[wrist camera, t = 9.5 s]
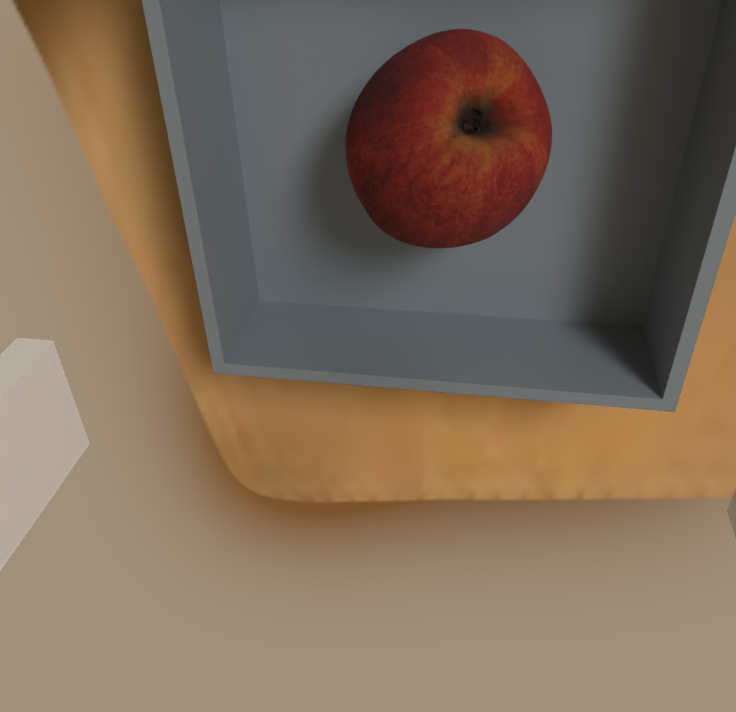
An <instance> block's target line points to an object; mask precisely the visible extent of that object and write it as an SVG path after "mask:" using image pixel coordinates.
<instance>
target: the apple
mask: <svg viewBox="0 0 736 712" xmlns="http://www.w3.org/2000/svg"><path fill="white" fill-rule="evenodd" d="M345 145H346V162H347V168H348V173H349V177H350V180H351V184H352V186H353V189H354V191H355V193H356V195H357V197H358V199H359V201H360V202H361V204H362V205H363V207H364V209H365V210H366V212H367V214H368V215H369V216H370V218H371V219H372V221H373V222H374V223H375V224H376V225H377V226H378V227H379V228H380V229H381V230H382V231H383V232H385V233H386V234H387V235H389V236H391V237H393V238H395V239H397V240H399V241H401V242H404V243H407V244H410V245H414V246H418V247H425V248H454V247H460V246H465V245H469V244H473V243H476V242H480V241H482V240H485V239H487V238H489V237H491V236H493V235H494V234H496V233H498V232H499V231H501V230H502V229H503V228H505V227H506V226H507V225H509V224H510V223H511V222H512V221H513V220H514V219H515V218H516V217H517V216H518V215H519V214H520V213H521V212H522V211H523V210H524V208H525V207H526V206H527V205H528V203H529V202H530V200H531V199H532V197H533V196H534V194H535V192H536V191H537V189H538V187H539V185H540V183H541V181H542V179H543V176H544V174H545V171H546V168H547V165H548V161H549V158H550V153H551V146H552V124H551V118H550V113H549V109H548V106H547V103H546V100H545V97H544V95H543V93H542V90H541V88H540V85H539V84H538V82H537V80H536V78H535V76H534V75H533V73H532V72H531V70H530V68H529V67H528V65H527V64H526V63H525V61H524V60H523V59H522V58H521V57H520V55H519V54H518V53H517V52H516V51H515V50H514V49H513V48H512V47H511V46H510V45H509V44H507V43H506V42H505V41H503V40H501V39H499V38H498V37H495V36H493V35H491V34H488V33H485V32H482V31H477V30H471V29H450V30H445V31H440V32H436V33H433V34H431V35H428V36H426V37H423V38H421V39H419V40H417V41H415V42H413V43H412V44H410V45H408V46H407V47H405V48H404V49H402V50H400V51H399V52H398V53H396V54H395V55H393V56H392V57H391V58H390V59H389V60H387V61H386V62H385V63H384V64H383V65H382V66H381V67H380V68H379V69H378V70H377V71H376V72H375V73H374V74H373V76H372V77H371V78H370V80H369V81H368V82H367V84H366V85H365V87H364V88H363V90H362V91H361V93H360V95H359V97H358V98H357V100H356V102H355V105H354V107H353V110H352V112H351V115H350V118H349V122H348V126H347V131H346V142H345Z"/></svg>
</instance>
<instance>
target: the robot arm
mask: <svg viewBox="0 0 736 712" xmlns="http://www.w3.org/2000/svg"><path fill="white" fill-rule="evenodd" d="M89 444H90V443H89V441H88V438H87V435H86V432H85V429H84V426H83V424H82V421H81V418H80V415H79V413H78V410H77V407H76V404H75V401H74V398H73V396H72V393H71V390H70V387H69V384H68V382H67V379H66V376H65V373H64V371H63V368H62V365H61V362H60V359H59V356H58V354H57V351H56V348H55V345H54V342H53V341H51V340H39V339H26V338H16V339H15V340H14V341H13V343H12V344H10V345H9V346H8V347H7V348H6V350H5V351H3V352H2V353H1V354H0V570H1V569H2V567H3V566H4V565H5V563H6V562H7V560H8V559H9V558H10V556H11V555H12V553H13V552H14V551H15V549H16V548H17V546H18V545H19V543H20V542H21V540H22V539H23V538H24V536H25V535H26V533H27V532H28V531H29V529H30V528H31V526H32V525H33V524H34V522H35V521H36V519H37V518H38V517H39V515H40V514H41V512H42V511H43V510H44V508H45V507H46V505H47V504H48V502H49V501H50V500H51V498H52V497H53V495H54V494H55V493H56V491H57V490H58V488H59V487H60V485H61V484H62V482H63V481H64V480H65V478H66V477H67V476H68V474H69V473H70V471H71V470H72V468H73V467H74V466H75V464H76V463H77V461H78V460H79V459H80V457H81V455H82V454H83V453H84V451H85V450H86V449H87V447H88V446H89ZM727 512H728V515H729V518H730V521H731V524H732V527H733V530H734V533H735V536H736V490H735V492H734V495H733V497H732V500H731V502H730V505H729V507H728V509H727Z"/></svg>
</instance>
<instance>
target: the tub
mask: <svg viewBox="0 0 736 712" xmlns="http://www.w3.org/2000/svg"><path fill="white" fill-rule="evenodd" d="M142 4H143V10H144V15H145V20H146V25H147V30H148V36H149V41H150V46H151V51H152V56H153V62H154V67H155V72H156V77H157V82H158V88H159V93H160V98H161V103H162V108H163V114H164V119H165V124H166V129H167V134H168V140H169V145H170V150H171V155H172V160H173V166H174V171H175V176H176V181H177V186H178V192H179V197H180V202H181V207H182V212H183V218H184V223H185V228H186V233H187V238H188V244H189V249H190V254H191V259H192V264H193V270H194V275H195V280H196V285H197V290H198V296H199V301H200V306H201V311H202V316H203V321H204V327H205V332H206V337H207V342H208V347H209V353H210V358H211V363H212V368H213V373H218V374H230V375H242V376H254V377H266V378H278V379H289V380H301V381H313V382H325V383H337V384H349V385H361V386H373V387H385V388H396V389H408V390H420V391H432V392H444V393H456V394H468V395H480V396H492V397H503V398H515V399H527V400H539V401H551V402H563V403H575V404H587V405H599V406H611V407H622V408H634V409H646V410H658V411H670V412H675V409H676V406H677V403H678V399H679V396H680V393H681V390H682V386H683V383H684V380H685V376H686V373H687V370H688V367H689V363H690V360H691V357H692V354H693V350H694V347H695V344H696V340H697V337H698V334H699V331H700V327H701V324H702V321H703V318H704V314H705V311H706V308H707V305H708V301H709V298H710V295H711V291H712V288H713V285H714V282H715V278H716V275H717V272H718V269H719V265H720V262H721V259H722V255H723V252H724V249H725V246H726V242H727V239H728V236H729V233H730V229H731V226H732V223H733V219H734V216H735V213H736V0H142ZM450 29H471V30H477V31H482V32H485V33H488V34H491V35H493V36H495V37H498V38H499V39H501V40H503V41H505V42H506V43H507V44H509V45H510V46H511V47H512V48H513V49H514V50H515V51H516V52H517V53H518V54H519V55H520V57H521V58H522V59H523V60H524V61H525V63H526V64H527V65H528V67H529V68H530V70H531V72H532V73H533V75H534V76H535V78H536V80H537V82H538V84H539V85H540V88H541V90H542V93H543V95H544V97H545V100H546V103H547V106H548V109H549V113H550V118H551V124H552V146H551V153H550V158H549V161H548V165H547V168H546V171H545V174H544V176H543V179H542V181H541V183H540V185H539V187H538V189H537V191H536V192H535V194H534V196H533V197H532V199H531V200H530V202H529V203H528V205H527V206H526V207H525V208H524V210H523V211H522V212H521V213H520V214H519V215H518V216H517V217H516V218H515V219H514V220H513V221H512V222H511V223H510V224H509V225H507V226H506V227H505V228H503V229H502V230H501V231H499V232H498V233H496V234H494V235H493V236H491V237H489V238H487V239H485V240H482V241H480V242H476V243H473V244H469V245H465V246H460V247H454V248H425V247H418V246H414V245H410V244H407V243H404V242H401V241H399V240H397V239H395V238H393V237H391V236H389V235H387V234H386V233H385V232H383V231H382V230H381V229H380V228H379V227H378V226H377V225H376V224H375V223H374V222H373V221H372V219H371V218H370V216H369V215H368V214H367V212H366V210H365V209H364V207H363V205H362V204H361V202H360V201H359V199H358V197H357V195H356V193H355V191H354V189H353V186H352V184H351V180H350V177H349V173H348V168H347V162H346V145H345V142H346V131H347V126H348V122H349V118H350V115H351V112H352V110H353V107H354V105H355V102H356V100H357V98H358V97H359V95H360V93H361V91H362V90H363V88H364V87H365V85H366V84H367V82H368V81H369V80H370V78H371V77H372V76H373V74H374V73H375V72H376V71H377V70H378V69H379V68H380V67H381V66H382V65H383V64H384V63H385V62H386V61H387V60H389V59H390V58H391V57H392V56H393V55H395V54H396V53H398V52H399V51H400V50H402V49H404V48H405V47H407V46H408V45H410V44H412V43H413V42H415V41H417V40H419V39H421V38H423V37H426V36H428V35H431V34H433V33H436V32H440V31H445V30H450Z"/></svg>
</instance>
